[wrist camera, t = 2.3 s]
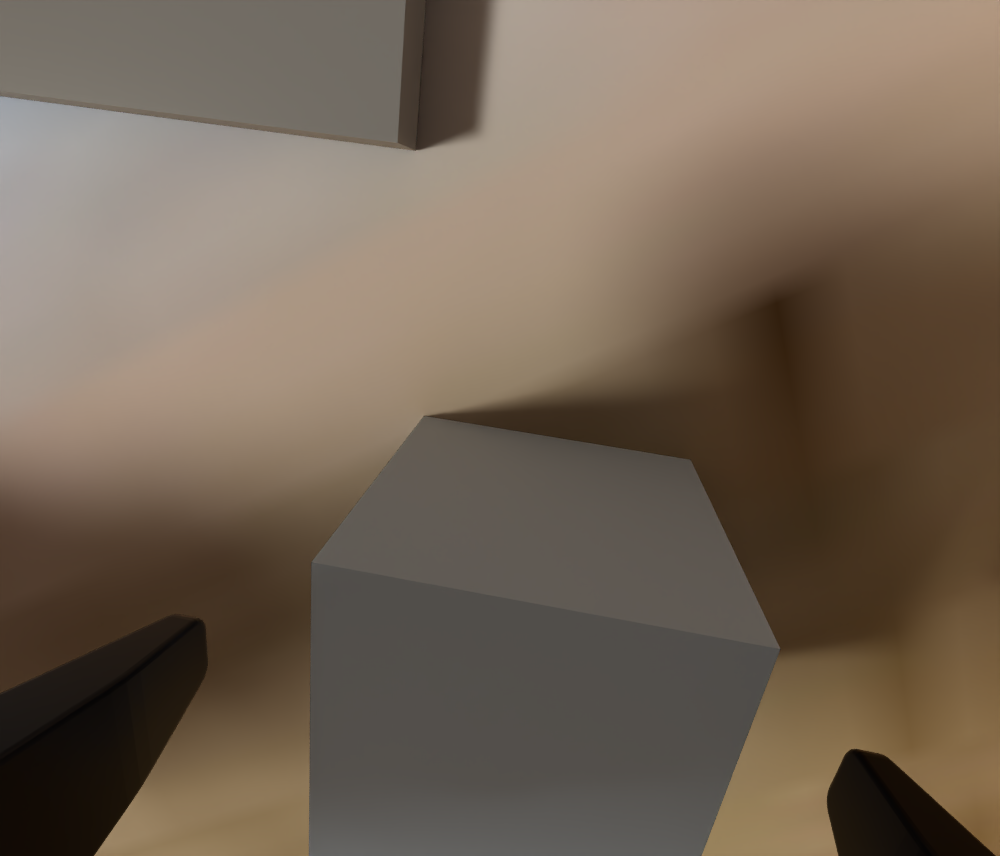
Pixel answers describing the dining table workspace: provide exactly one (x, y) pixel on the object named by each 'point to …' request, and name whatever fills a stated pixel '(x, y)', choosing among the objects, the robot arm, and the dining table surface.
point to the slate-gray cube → (528, 654)
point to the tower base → (226, 62)
